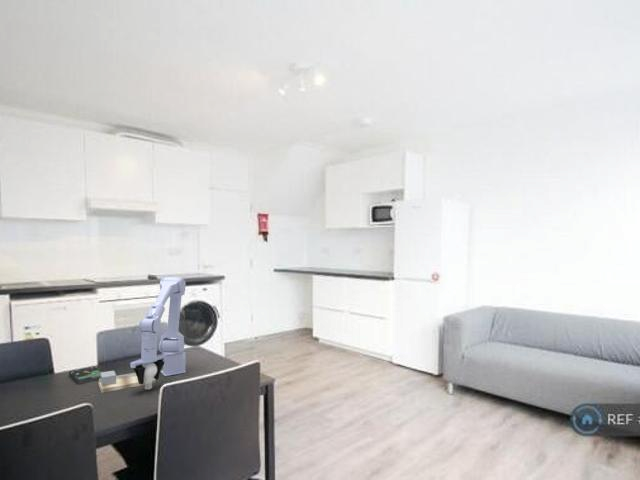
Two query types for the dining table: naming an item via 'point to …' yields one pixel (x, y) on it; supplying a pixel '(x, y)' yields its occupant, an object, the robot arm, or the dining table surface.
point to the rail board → (118, 381)
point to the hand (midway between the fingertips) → (148, 381)
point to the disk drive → (85, 375)
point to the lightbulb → (149, 374)
